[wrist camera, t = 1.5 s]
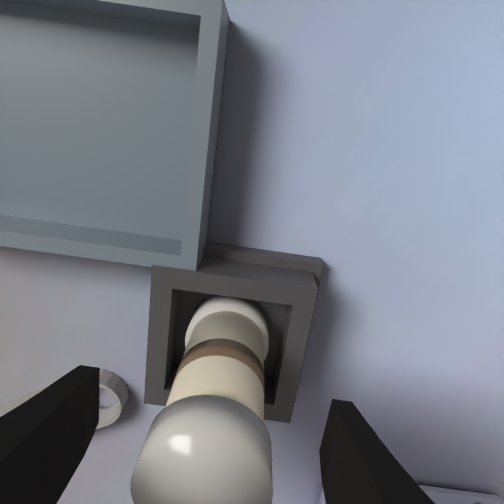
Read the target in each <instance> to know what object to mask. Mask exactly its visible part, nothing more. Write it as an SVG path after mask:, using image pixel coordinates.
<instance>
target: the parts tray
mask: <svg viewBox="0 0 504 504" xmlns="http://www.w3.org/2000/svg"><path fill="white" fill-rule="evenodd" d="M229 24H230V18H229V15H228V11H227V8H226V5H225V2H224V0H0V246H4V247H11V248H18V249H25V250H32V251H40V252H47V253H54V254H61V255H68V256H75V257H82V258H89V259H96V260H104V261H111V262H118V263H125V264H132V265H139V266H146V267H152V265H157V266H164V267H171V268H178V269H186V270H193V271H196V269H197V267H198V265H199V263H200V261H201V259H202V257H203V249H204V246H205V244H206V242H207V233H208V223H209V214H210V204H211V195H212V185H213V176H214V166H215V157H216V147H217V138H218V128H219V119H220V109H221V100H222V90H223V81H224V71H225V62H226V52H227V43H228V33H229Z"/></svg>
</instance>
